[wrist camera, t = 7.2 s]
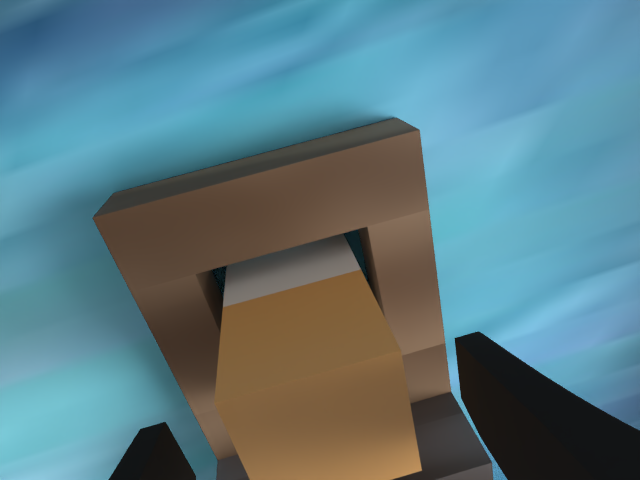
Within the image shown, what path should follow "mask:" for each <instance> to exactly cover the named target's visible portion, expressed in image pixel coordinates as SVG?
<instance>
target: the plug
mask: <svg viewBox="0 0 640 480" xmlns="http://www.w3.org/2000/svg"><path fill="white" fill-rule="evenodd" d="M214 404H215V406H216V408H217V410H218V413H219V415H220V417H221V419H222V421H223V423H224V425H225V428H226V430H227V432H228V434H229V436H230V438H231V440H232V443H233V445H234V447H235V449H236V451H237V453H238V455H239V458H240V460H241V462H242V464H243V466H244V468H245V470H246V473H247V475H248V477H249V479H250V480H392V479H395V478H399V477H402V476H405V475H409V474H412V473H416V472H419V471H422V468H421V463H420V457H419V451H418V445H417V440H416V434H415V428H414V422H413V417H412V411H411V405H410V400H409V394H408V388H407V382H406V377H405V371H404V365H403V359H402V354H401V349H400V347H399V345H398V343H397V341H396V339H395V337H394V335H393V333H392V331H391V329H390V327H389V325H388V323H387V321H386V319H385V317H384V315H383V313H382V311H381V309H380V307H379V305H378V303H377V301H376V299H375V297H374V295H373V293H372V291H371V289H370V287H369V285H368V283H367V281H366V278H365V276H364V274H363V272H362V270H361V268H360V266H359V264H358V262H357V260H356V258H355V256H354V254H353V252H352V250H351V248H350V246H349V244H348V242H347V240H346V238H345V236H344V234H343V233H342V234H339V235H335V236H331V237H328V238H324V239H320V240H317V241H313V242H310V243H306V244H302V245H299V246H295V247H292V248H288V249H284V250H281V251H277V252H273V253H270V254H266V255H263V256H259V257H255V258H252V259H248V260H245V261H241V262H237V263H234V264H230V265H227V266H226V278H225V289H224V300H223V311H222V322H221V333H220V344H219V355H218V366H217V377H216V388H215V399H214Z"/></svg>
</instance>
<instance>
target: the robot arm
mask: <svg viewBox="0 0 640 480" xmlns="http://www.w3.org/2000/svg"><path fill="white" fill-rule="evenodd" d="M455 345H456V355H457V364H458V373H459V382H460V391H461V399H462V401H463V403H464V405H465V407H466V409H467V411H468V413H469V415H470V417H471V419H472V421H473V423H474V425H475V427H476V429H477V431H478V433H479V435H480V437H481V438H482V440H483V442H484V443H485V445H486V446H487V448H488V450H489V451H490V453H491V454H492V456H493V457H494V459H495V461H496V462H497V464H498V465H499V467H500V468H501V470H502V472H503V473H504V475H505V476H506V478H507V479H508V480H640V431H639V430H637V429H635V428H633V427H632V426H630V425H628V424H626V423H624V422H622V421H620V420H619V419H617V418H615V417H613V416H611V415H609V414H608V413H606V412H604V411H602V410H601V409H599V408H597V407H595V406H594V405H592V404H590V403H588V402H587V401H585V400H583V399H582V398H580V397H578V396H577V395H575V394H573V393H571V392H570V391H568V390H567V389H565V388H563V387H562V386H560V385H559V384H557V383H555V382H554V381H552V380H551V379H549V378H548V377H546V376H544V375H543V374H541V373H540V372H538V371H537V370H535V369H534V368H532V367H530V366H529V365H527V364H526V363H525V362H523V361H522V360H520V359H519V358H517V357H516V356H514V355H513V354H511V353H510V352H508V351H507V350H505V349H504V348H503V347H501V346H500V345H498V344H497V343H495V342H494V341H492V340H491V339H490V338H488V337H487V336H485V335H484V334H482V333H480V332H479V331H478V332H475V333H471V334H468V335H464V336H461V337H457V338H455ZM109 480H196V475H195V474H194V472H193V470H192V468H191V466H190V465H189V463H188V461H187V459H186V458H185V456H184V454H183V452H182V450H181V449H180V447H179V445H178V443H177V442H176V440H175V438H174V436H173V434H172V433H171V431H170V429H169V427H168V426H167V424H166V422H163V423H160V424H156V425H153V426H150V427H146V428H143V429H140V431H139V432H138V434H137V435H136V437H135V438H134V440H133V441H132V443H131V445H130V446H129V448H128V449H127V451H126V453H125V454H124V456H123V458H122V459H121V461H120V462H119V464H118V466H117V467H116V469H115V470H114V472H113V474H112V475H111V477H110V478H109Z"/></svg>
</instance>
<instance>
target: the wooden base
mask: <svg viewBox="0 0 640 480" xmlns="http://www.w3.org/2000/svg"><path fill="white" fill-rule="evenodd" d="M93 220H94V222H95V224H96V226H97V228H98V230H99V231H100V233H101V235H102V237H103V239H104V241H105V243H106V245H107V247H108V249H109V251H110V253H111V255H112V257H113V259H114V261H115V262H116V264H117V266H118V268H119V270H120V272H121V274H122V276H123V278H124V280H125V282H126V284H127V286H128V288H129V290H130V291H131V293H132V295H133V297H134V299H135V301H136V303H137V305H138V307H139V309H140V311H141V313H142V315H143V317H144V319H145V321H146V322H147V324H148V326H149V328H150V330H151V332H152V334H153V336H154V338H155V340H156V342H157V344H158V346H159V348H160V350H161V352H162V353H163V355H164V357H165V359H166V361H167V363H168V365H169V367H170V369H171V371H172V373H173V375H174V377H175V379H176V381H177V383H178V384H179V386H180V388H181V390H182V392H183V394H184V396H185V398H186V400H187V402H188V404H189V406H190V408H191V410H192V412H193V413H194V415H195V417H196V419H197V421H198V423H199V425H200V427H201V429H202V431H203V433H204V435H205V437H206V439H207V441H208V443H209V444H210V446H211V448H212V450H213V452H214V454H215V456H216V458H217V460H218V463H217V477H216V480H250V479H249V477H248V475H247V473H246V470H245V468H244V466H243V464H242V462H241V460H240V458H239V455H238V453H237V451H236V449H235V447H234V445H233V443H232V440H231V438H230V436H229V434H228V432H227V430H226V428H225V425H224V423H223V421H222V419H221V417H220V415H219V413H218V410H217V408H216V406H215V404H214V399H215V388H216V377H217V366H218V355H219V344H220V333H221V322H222V311H223V300H224V299H223V296H222V294H221V291H220V289H219V286H218V284H217V281H216V279H215V276H214V274H213V271H212V269H216V268H219V267H223V266H227V265H230V264H234V263H237V262H241V261H245V260H248V259H252V258H255V257H259V256H263V255H266V254H270V253H273V252H277V251H281V250H284V249H288V248H292V247H295V246H299V245H302V244H306V243H310V242H313V241H317V240H320V239H324V238H328V237H331V236H335V235H339V234H342V233H346V232H349V231H353V230H357V229H358V232H359V237H360V242H361V246H362V251H363V256H364V261H365V266H366V270H367V275H368V280H369V285H370V289H371V291H372V293H373V295H374V297H375V299H376V301H377V303H378V305H379V307H380V309H381V311H382V313H383V315H384V317H385V319H386V321H387V323H388V325H389V327H390V329H391V331H392V333H393V335H394V337H395V339H396V341H397V343H398V345H399V347H400V349H401V354H402V359H403V365H404V371H405V377H406V382H407V388H408V394H409V400H410V405H411V411H412V417H413V422H414V428H415V434H416V440H417V445H418V451H419V457H420V463H421V468H422V471H419V472H416V473H412V474H409V475H405V476H402V477H399V478H395V479H392V480H493V471H492V462H491V460H490V458H489V457H488V455H487V453H486V451H485V450H484V448H483V446H482V444H481V443H480V441H479V439H478V437H477V436H476V434H475V432H474V431H473V429H472V427H471V425H470V424H469V422H468V420H467V418H466V417H465V415H464V413H463V411H462V410H461V408H460V406H459V405H458V403H457V401H456V399H455V398H454V396H453V394H452V392H451V387H450V379H449V371H448V362H447V354H446V346H445V337H444V329H443V321H442V313H441V304H440V296H439V288H438V279H437V271H436V263H435V254H434V246H433V238H432V230H431V221H430V213H429V205H428V196H427V188H426V180H425V172H424V163H423V155H422V147H421V138H420V130H419V129H417V128H415V127H413V126H411V125H410V124H408V123H406V122H404V121H402V120H400V119H398V118H393V119H389V120H385V121H382V122H378V123H374V124H370V125H367V126H363V127H359V128H355V129H352V130H348V131H344V132H340V133H337V134H333V135H329V136H325V137H322V138H318V139H314V140H310V141H307V142H303V143H299V144H296V145H292V146H288V147H284V148H281V149H277V150H273V151H269V152H266V153H262V154H258V155H254V156H251V157H247V158H243V159H239V160H236V161H232V162H228V163H224V164H221V165H217V166H213V167H209V168H206V169H202V170H198V171H194V172H191V173H187V174H183V175H180V176H176V177H172V178H168V179H165V180H161V181H157V182H153V183H150V184H146V185H142V186H138V187H135V188H131V189H127V190H123V191H120V192H116V193H113V194H112V196H111V197H110V198H109V199H108V200H107V201H106V203H105V204H104V205H103V206H102V207H101V208H100V210H99V211H98V212H97V213H96V214H95V215H94V216H93Z"/></svg>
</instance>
